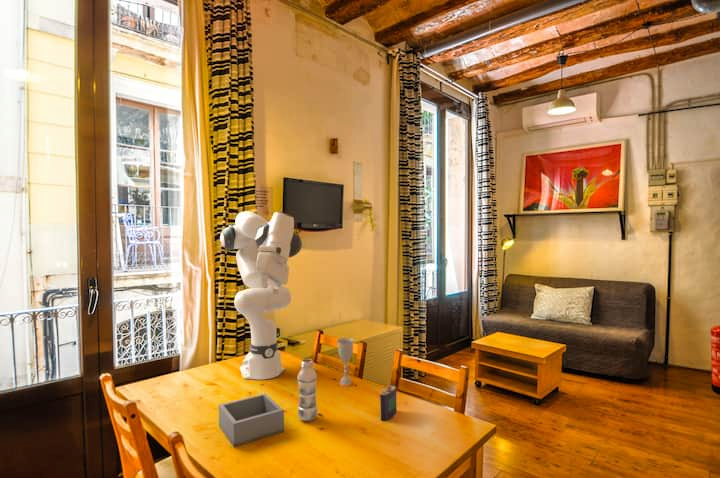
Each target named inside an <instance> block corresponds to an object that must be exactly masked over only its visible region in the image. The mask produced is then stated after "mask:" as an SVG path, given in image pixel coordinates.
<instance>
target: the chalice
mask: <svg viewBox="0 0 720 478" xmlns="http://www.w3.org/2000/svg"><path fill="white" fill-rule="evenodd" d="M354 341H355V340H354V338H350V337H343V338H338V339H337V340H336V342H337V350H338V351H337V353H338V355H339V358H340V360H341V362H342V363H343V364H344V365H343V368H344V371H343V373H344V375H343V376H341V379H340V382H339V384H340V385H341V386H350V385H352V384H353V383H352V380H351V378H350V376H348V365H347V363H349V362H350V361H351V360H350V359H351V357H352V355H353V351H354V350H353V348H354V346H353V343H354Z"/></svg>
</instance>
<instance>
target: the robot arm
mask: <svg viewBox="0 0 720 478" xmlns="http://www.w3.org/2000/svg"><path fill="white" fill-rule="evenodd" d="M234 223H235V225H231V224H229V225H228V226H226V227H224V228H223V229H222V231H221V232H220V236H219V240H220V243H221V245H222V247H223V249H225V250H227V251H229V250H230V251H232V250H237V251H236V254H235V255H236V256H235V257H236V258H235V259H236V265H237V268H238V269H237V270H238V271H239V274H240V276H241V279H242V282H243V285H244V286H246V287H248V288H246V289H243V290H240V291H238V292H237V293H236V295H235V296H234V300H233V304H234V308H235V309H236V311H237V312H238V314H241V315H242V316H243V317H244V318H245V319H246V320H247V322H248V325H249V328H250V339H251V340H250V341H251V342H250V346H249V352H248V353H247V354H246V355H245V356H244V359H242V363H241V364H242V365H241V366H240V367H239V370H240V373H241V375H242V378H243V379H244V380H245V379H246V380H247V379H251V380H258V381H259V380H260V381H261V380H269V379H273V378H276V377H278V376H279V375H281V374H282V373H283V372H284V371H285V367H283V366H282V358H281V357H282V355H281V353H280V351H278V350H279V349H278V348H279V345H278V344H279V343H278V339H277V325H276V323H275V322H274V321H273V320H270V319H268V318H266V316H265V313H266V312H273V311H279V310H282V309H285V308H287V307H289V305H290V304H291V300H292V295H291V292H290V289H288V288H287V287H286V285H287V284H288V281H289V273H290V267H289V265H288V262H289V258H292V257H295V256H296V255H298V254H299V253H300V251H301V250H302V246H303V244H302V243H303V241H302V238H301V236H300V235H299V234H298V233H296V232H294V228H295V219H294V217H293V216H292V215H290V214H288V213H285V212H282V211H281V212H280V211H277V212H273V215H272V217H271V219H270V221H267V220H266V219H265V218H263V217H262V216H261V215H259V214H257V213H255V212H253V211H249V210H247V211H246V210H245V211H242V212H241V211H240V213H238V214H237V215H236V218H235V222H234Z"/></svg>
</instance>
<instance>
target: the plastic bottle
mask: <svg viewBox="0 0 720 478" xmlns="http://www.w3.org/2000/svg"><path fill="white" fill-rule="evenodd" d="M313 362H314V361H313V359H309V358H305V359H302V360H301V364H300V367H301V368H300V370H299V372H298V373H297V378H296V379H297V384H298V392H299V401H298V409H297V416H298V418H299V419H300V421H303V422H312V421H314V420H316V418H317V417H318V415H319V413H318V412H319V411H318V406H317V398H316V397H317V395H316V394H317V393H316V392H317V391H316V389H317V387H316V386H317V380H318V379H317V378H318V375H317V373H316V371H315V369H314V368H313V367H314V363H313Z"/></svg>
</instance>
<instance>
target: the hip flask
mask: <svg viewBox="0 0 720 478" xmlns="http://www.w3.org/2000/svg"><path fill="white" fill-rule="evenodd" d="M386 386H387V387H386V390H384V391H381V392H380V394H379V399H380V402H379V403H380V421H381V422H388V421H389V420H391V419H393V418H394V416H395V415H396V414H397V386H394V385H390V384H387V385H386Z"/></svg>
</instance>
